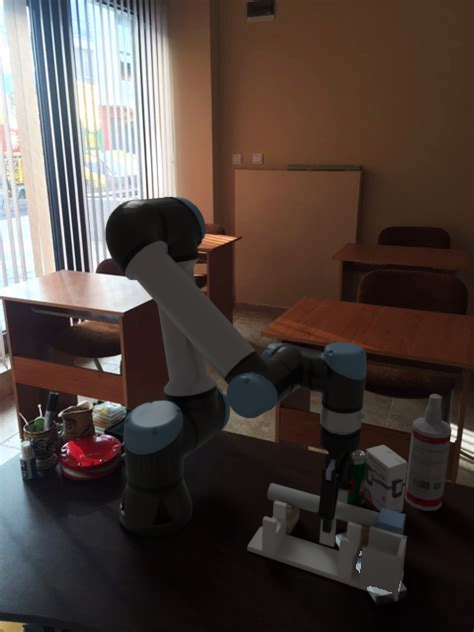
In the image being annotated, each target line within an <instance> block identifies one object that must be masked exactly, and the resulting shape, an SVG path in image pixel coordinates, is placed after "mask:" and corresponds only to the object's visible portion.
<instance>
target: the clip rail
mask: <svg viewBox="0 0 474 632" xmlns="http://www.w3.org/2000/svg"><path fill="white" fill-rule="evenodd" d="M272 509H273V511H272V514H273V515H272V517H269V516H267V515H266V516H264V517H263V518H262V526H260V527H259V528H258V530H257V531H256V532H255V534H254V535H253V537H252V539H251V540H250V541H249V543H248V544H247V549H246V550H247V551H248V552H251V553H253V554H256V555H260V556H263V557H266V558H269V559H271V560H275V561H277V562H281V563H283V564H287V565H289V566H293V567H295V568H298V569H301V570H304V571H307V572H310V573H312V574H315V575H319V576H321V577H323V578H327V579H331V580H334V581H337V582H340V583H342V584H345V585H349V586H351V587H355V588H357V589H360V590H363V591H366V592H368V591H367V587H369V586H372V587H377V588H379V589H383V590H386V591H388V592H392V593H393V595H394V597H395V599H396V600H394V602H395V601H396V602H398V600H399V597H398V595H399V596H400V593H398V588H399V584H400V581H401V582H402V583H403V580H404V576H405V575H404V574H405V571H404V565H405V556H406V548H407V539H408V536H406V535H404V534H402V535H400V534H396V533H393V532H389V531H386V530H383V529H379V528H376V527H372V526H370V530H369V541H368V546H367V548H366V547H363V548H362V555H361V557H360V556H359V554H360V542H361V531H362V525H359V524H356V523H352V522H347V527H346V539H343V538H342V539H340V541H339V546H338V547H339V549H338V550H336V549H334V548H330V547H327V546H325V545H321V544H318V543H315V542H312V541H309V540H306V539H302V538H298V537H295V536H292V535H291V534H287V533H286V519H287V503H283V502H280V501H276V500H275V501H273V508H272ZM359 557H360V558H361V569H360V573H359V571H358V570H357V569H356V564H357V561H358V558H359Z"/></svg>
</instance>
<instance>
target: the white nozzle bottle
mask: <svg viewBox="0 0 474 632" xmlns="http://www.w3.org/2000/svg"><path fill="white" fill-rule="evenodd" d="M441 403H442V396H441V395H440V394H438V393H432V394H430V395H429V399H428V404H427V406H426V408H425V413H424V417H417V418H416V419H414V420H413V421H412V429H411V437H410V444H409V445H410V446H409V452H408V462H407V463H408V464H407V473H406V482H405V492H404V499H405V502H406V503H408V504H409V505H410V506H411V507H413V508H415V509H418V510H422V511H424V512H429V511H437V510H438V509H439V508H440V507H442V506H443V505H442V504H443V499H444V498H443V497H444V491H445V484H446V483H445V482H446V475H447V468H448V461H449V452H450V445H451V439H452V427H451V424H450V423H448V422H446V421H445V420H442V416H443V414H442V413H443V411H442V406H441Z"/></svg>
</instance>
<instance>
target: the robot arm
mask: <svg viewBox="0 0 474 632" xmlns="http://www.w3.org/2000/svg"><path fill="white" fill-rule="evenodd" d="M206 230H207V227H206V222H205V218H204V216H203V213H202V212H201V210H200V209H199V208H198V206H197V205H196V204H194V203H193V202H192V201H191V200H189V199H187V198H184V197H178V196H164V197H154V198H144V199H139V198H137V199H131V200H127V201H124V202H122V203H121V204H120V203H119V205H117V207H116V208H114V209H113V211H112V212H111V213H110V215H109V216H108V219H107V221H106V224H105V229H104V235H105V236H104V237H105V238H104V239H105V245H106V247H107V250H108V252H109V255H110V257H111V259H112V261H113V263H114V264H115V265H116V267H117V268H118V269H119V271H121V273H122V274H123V275H124V276H125V277H126V278H127V280H129V281H136V282H138V284H139V285H141V287H142V289H144V291H146V293H147V294H148V295H149V296H150V297H151V298H152V299H153V301H154V302H155V303H156V304H157V308H158V309H157V310H158V315H159V321H160V328H161V333H162V341H163V346H164V353H165V359H166V366H167V372H168V377H169V380H168V382H167V384H166V385H165V386H164V388H163V391H164V399H165V400H153V401H152V402H149V401H148V402H143V404H140V405H137V406H136V407H134V409H132V410H131V411H130V412H128V414H127V416H126V418H125V420H124V423H123V437H122V439H123V441H122V442H123V445H124V448H123V449H124V460H125V461H124V463H125V476H126V477H125V478H126V479H125V480H126V484H125V488H124V491H123V495H122V497H121V500H120V503H119V521H120V524H121V525H122V527H123V528H124V529H125V530H127V531H128V532H130V533H132V534H133V535H137V536H140V537H144V538H145V537H148V538H156V537H164V536H168V535H171V534H174V533H176V532H178V531H179V530H181V529H183V528H184V527H185V526H186V525H187V524H188V523H189V522H190V520H191V519H192V516H193V499H192V496H191V495H190V492H189V489H188V487H187V484H186V482H185V478H184V461H185V460H184V459H185V458H186V457H188V456H189V455H190V454H192V453H193V452H194V451H196V450H198V449H199V448H201V446H202V445H203V446H204V445H205V443H207V442H208V441H210V440H212V439H214V438H215V437H217V436H218V435H219V434H220V433H221V432H222V431H223V430H224V429H225V428H226V426H227V424H228V423H229V419H230V417H231V410H232V411H233V412H234V413H235V414H236V415H238V416H240V417H242V418H246V419H255V418H257V417H260V416H261V415H263V414H265V413H267V412H269V411H271V410H273V409H274V408H275V407H276V405H277V404H278V403H280V402H281V401H283V400H284V399H285V398H286V397H288V396H290V395H291V394H292V393H294V392H295V391H297V390H298V389H303V390H308V391H311V392H315V393H317V392H318V393H320V394H321V401H320V402H321V403H320V404H321V405H320V406H321V407H320V417H319V420H320V421H319V423H320V425H319V435H318V436H319V439H318V442H319V445H320V446H321V447H322V448H323V449H325V451H327V454H326V455H325V459H324V463H325V467H322V469H321V486H320V493H319V496H320V502H319V511H317V513H316V515H317V519H320V529H319V532H320V533H319V544H322V545H324V546H325V545H326V546H329V547H332V548H334V546H335V545H336V544H335V542H336V529H337V528H336V526H337V519H336V516H337V515H335V511H336V505H337V501H339V502H342V503H346V504H347V500H348V490H346V489H350V490H352V487H353V484H349V481H351V480H352V478H351V476H352V452H354V451H356V450H357V449H358V450H359V448H360V447H361V446H360V445H361V437H362V430H361V428H362V423H363V422H362V420H363V419H365V418H366V413H363V409H364V408H363V407H364V399H365V398H364V397H365V396H364V395H365V386H366V379H367V378H366V377H367V373H368V371H367V353H366V350H365V349H364V348H363V347H362V346H360V345H358V344H355V343H351V342H339V341H338V342H337V341H336V342H332V343H328V344H327V345H326V346H325V348H324V351H321V350H320V351H319V350H316V349H310V348H306V347H302V346H297V345H293V344H292V343H281V342H271V343H269V344H268V345H267V346H266V348H265V350H264V351H263V352H262V354H261V355H260V353H258V351H257V350H256V349H255V348H254V347H253V346H252V345H251V344H250V342H249V341H248V340H247V339H246V338H245V337H244V336H243V335H242V333H241V332H239V330H238V329H237V328H236V327H235V326H234V325H233V324H232V323H231V322H230V321H229V319H228V318H227V317H226V315H224V314H223V313H222V312H221V311H220V310H219V309H218V307H217V306H216V305H215V304H214V303H213V301H211V299H210V298H209V297H208V296H207V295H206V294H205V293H204V292H203V290H201V288H200V287H199V286H198V285H197V284H196V277H195V271H194V268H195V265H197V263H198V262H199V260H200V255H199V247H200V246H201V244H203V240H204V239H205V237H206ZM207 362H208V363H209V365H211V366H212V368H213V369H214V370H215V371H216V372H217V373H218V375H219V376H220V377H221V378H222V379H223V381H225V383H226V384H227V387H226V393H223V392H224V390H223V389H222V388H221V387H220V386H218V385H217V384H218V383H217V380H216V379H215V378H214V377H212V376H211V375H209V371H208V364H207Z"/></svg>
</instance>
